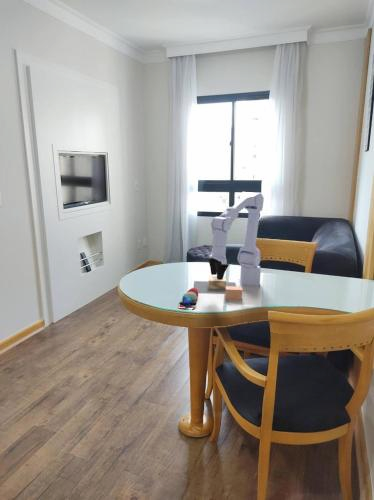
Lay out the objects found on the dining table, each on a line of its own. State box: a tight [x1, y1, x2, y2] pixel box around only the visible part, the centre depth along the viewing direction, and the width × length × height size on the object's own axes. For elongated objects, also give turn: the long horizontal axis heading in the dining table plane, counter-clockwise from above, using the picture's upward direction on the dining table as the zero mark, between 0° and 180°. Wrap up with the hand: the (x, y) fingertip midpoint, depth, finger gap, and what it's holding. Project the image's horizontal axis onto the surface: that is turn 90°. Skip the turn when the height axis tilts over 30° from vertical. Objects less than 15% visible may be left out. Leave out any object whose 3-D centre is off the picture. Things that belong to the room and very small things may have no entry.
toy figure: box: [178, 287, 199, 308], centre depth 151 cm, size 8×5×15 cm
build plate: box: [192, 280, 237, 295], centre depth 168 cm, size 20×16×1 cm
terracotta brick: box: [224, 286, 244, 301], centre depth 156 cm, size 7×4×5 cm, turn 86°
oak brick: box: [208, 275, 227, 289], centre depth 169 cm, size 8×6×4 cm
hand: (216, 276), depth 153 cm, fingers open, 7 cm apart
